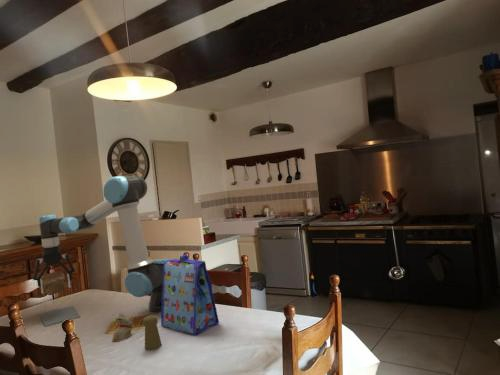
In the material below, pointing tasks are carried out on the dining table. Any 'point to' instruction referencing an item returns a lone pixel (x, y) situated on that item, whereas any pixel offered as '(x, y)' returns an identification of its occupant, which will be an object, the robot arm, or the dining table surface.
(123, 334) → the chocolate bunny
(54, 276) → the block
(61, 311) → the mat
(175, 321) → the lunch bag
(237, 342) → the dining table surface
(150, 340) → the cork
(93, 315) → the dining table surface
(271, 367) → the dining table surface
